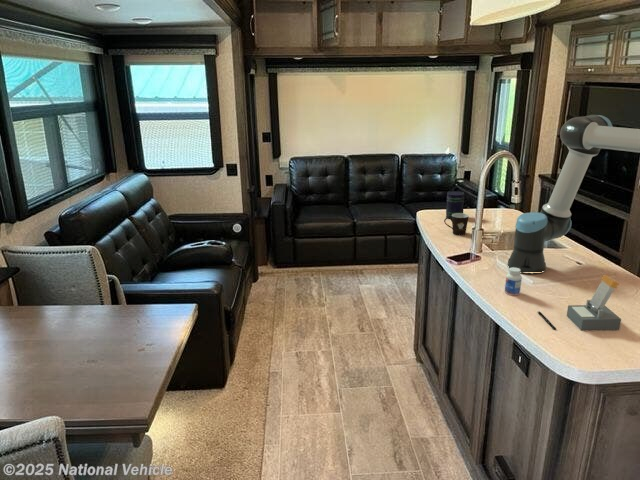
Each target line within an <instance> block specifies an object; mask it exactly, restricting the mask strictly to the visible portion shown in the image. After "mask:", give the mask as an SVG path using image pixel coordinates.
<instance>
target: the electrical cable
mask: <svg viewBox="0 0 640 480" xmlns="http://www.w3.org/2000/svg"><path fill="white" fill-rule="evenodd" d="M537 314H538V315H539V316H540V317H541V318H542V319H543V320H544V321H545V323H546V324H547V325H549V326H550V327H551V329H552V330H553V331H556V330H557V327H555V326H554V325H553V323H552V322H551V321H550V320H549V319H548V318H547V317H546V316H545V315H544V314H543V313H542V312H541V311H540V310H537Z"/></svg>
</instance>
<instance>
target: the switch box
mask: <svg viewBox="0 0 640 480" xmlns="http://www.w3.org/2000/svg"><path fill="white" fill-rule="evenodd" d="M590 301H591V299H586V303H585V304H582V305H581V304H578V305H577V304H575V305H572V304H571V305H569V304H568V306H567V310H566V317H567V318H568V319H569V320H570V321H571V322H572V323H573V325H575V326H576V327H577V328H578V329H579V330H580V331H582V332H583V331H620V328H621V323H622V318H621V317H619V316H618V315H617V314H616V313H615V312H614V311H612V310H611V309H610V308H609V307H608V306H607V305H605V306H604V307H603V309H602V310H598V314H597V313H595V312H594V311H593V310H592V309H591V308H590V307H589V306H588V303H589V302H590Z"/></svg>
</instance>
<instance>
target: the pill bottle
mask: <svg viewBox="0 0 640 480" xmlns="http://www.w3.org/2000/svg"><path fill="white" fill-rule="evenodd" d="M520 272H521V270H520V269H519V268H514V267H512V268H508V272H507V274H506V276H505V285H504V293H505V294H507V295H509V296H519V295H520V293H521V286H522V279H523V278H522V274H521V273H520Z"/></svg>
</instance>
